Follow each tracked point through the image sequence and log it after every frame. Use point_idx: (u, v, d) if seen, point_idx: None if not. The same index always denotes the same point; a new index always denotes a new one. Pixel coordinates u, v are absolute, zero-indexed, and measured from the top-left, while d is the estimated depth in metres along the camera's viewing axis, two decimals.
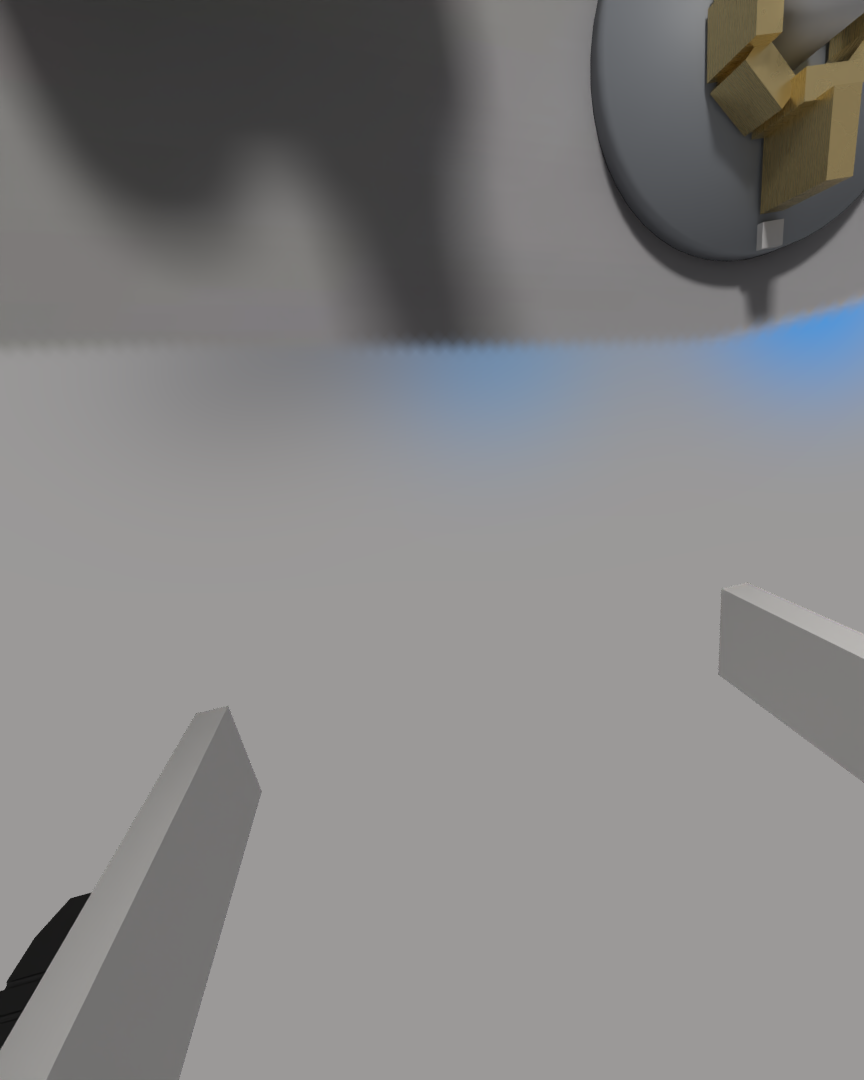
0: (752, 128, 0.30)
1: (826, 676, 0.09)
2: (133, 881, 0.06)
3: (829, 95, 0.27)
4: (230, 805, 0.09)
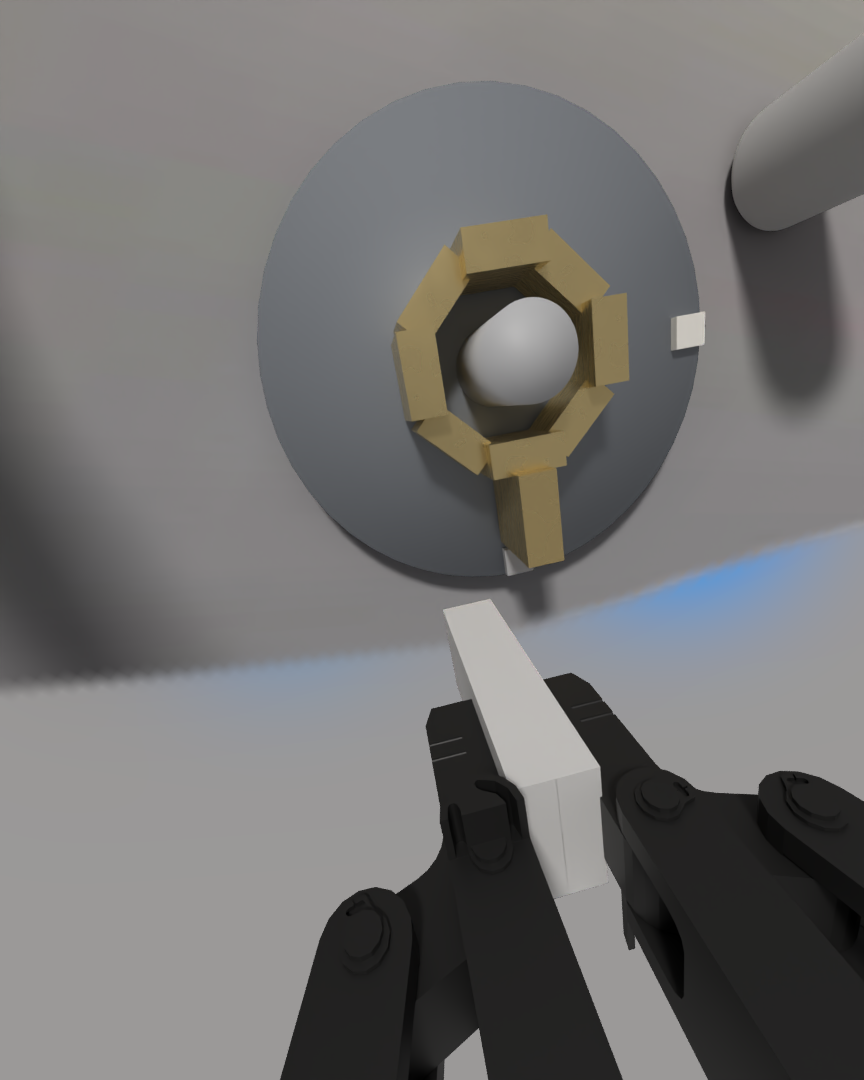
0: (466, 468, 0.25)
1: None
2: (500, 683, 0.09)
3: (517, 482, 0.21)
4: None
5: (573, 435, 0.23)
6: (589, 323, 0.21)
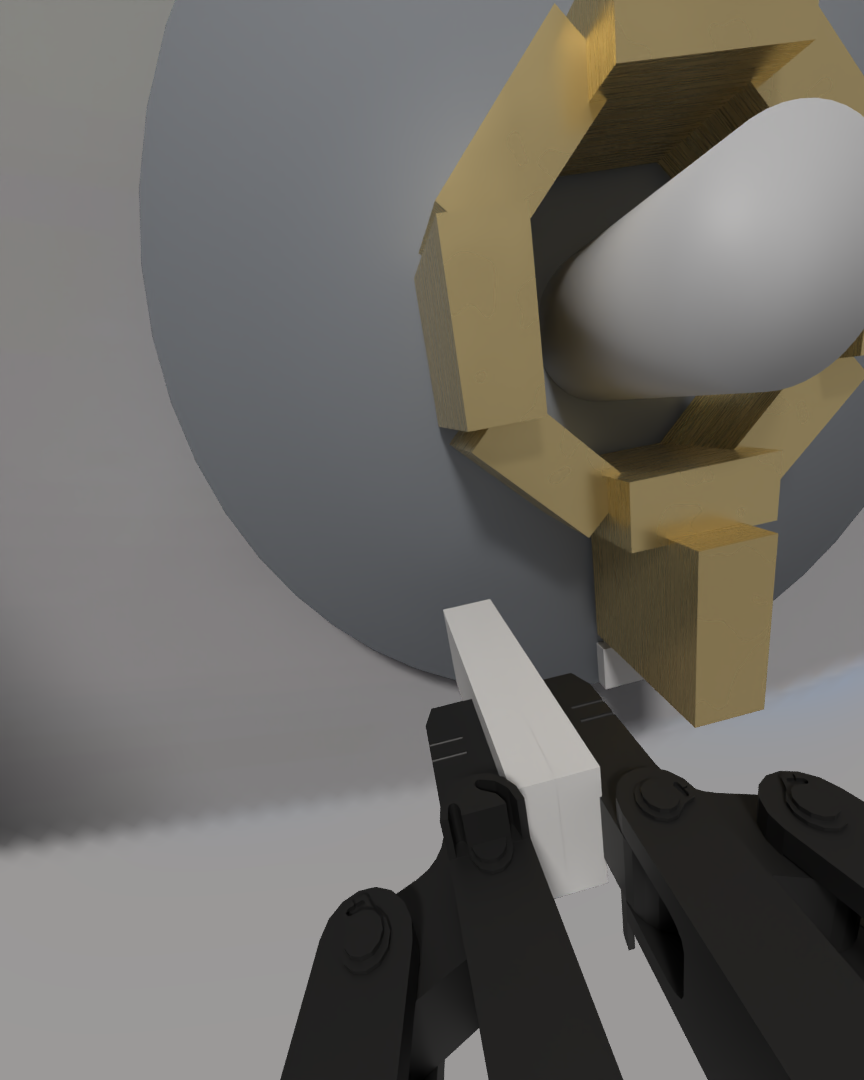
0: (551, 516, 0.13)
1: None
2: (500, 684, 0.09)
3: (690, 561, 0.10)
4: None
5: None
6: None
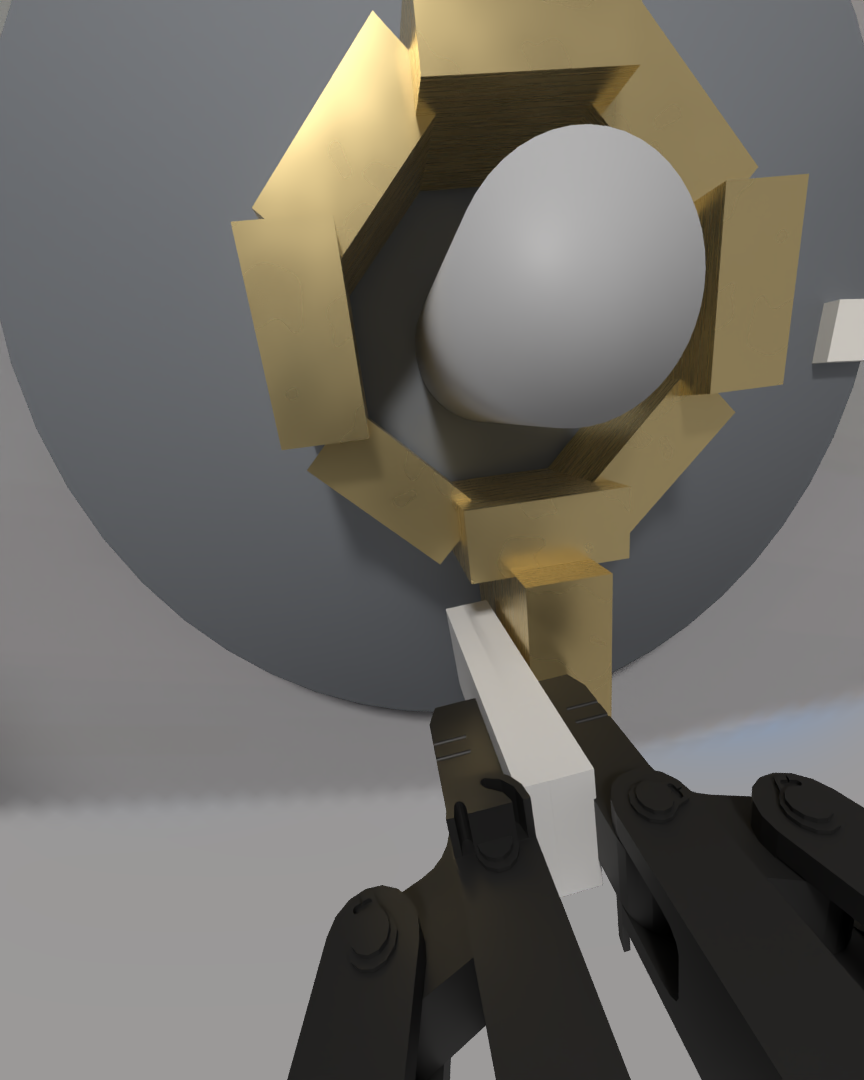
0: None
1: None
2: (504, 682, 0.09)
3: (522, 597, 0.10)
4: None
5: (643, 492, 0.11)
6: (709, 246, 0.09)
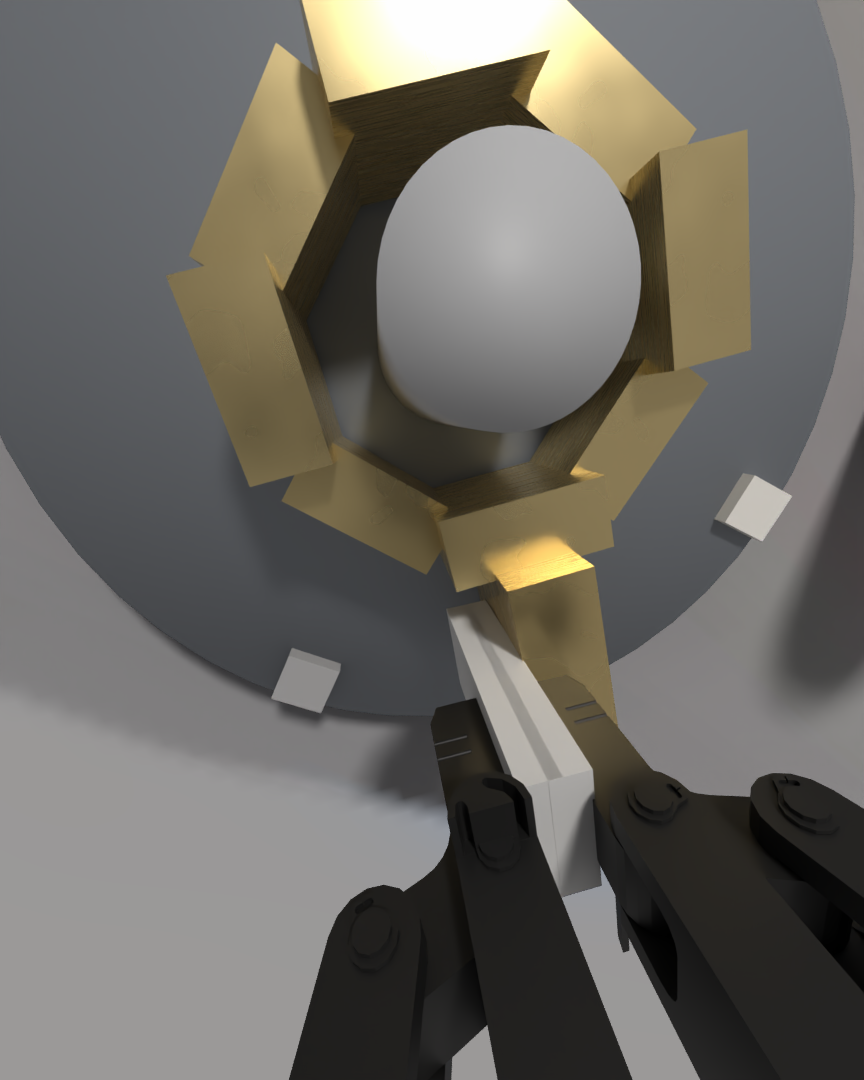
0: None
1: None
2: (505, 682, 0.09)
3: (507, 600, 0.10)
4: None
5: (622, 477, 0.11)
6: (653, 220, 0.09)
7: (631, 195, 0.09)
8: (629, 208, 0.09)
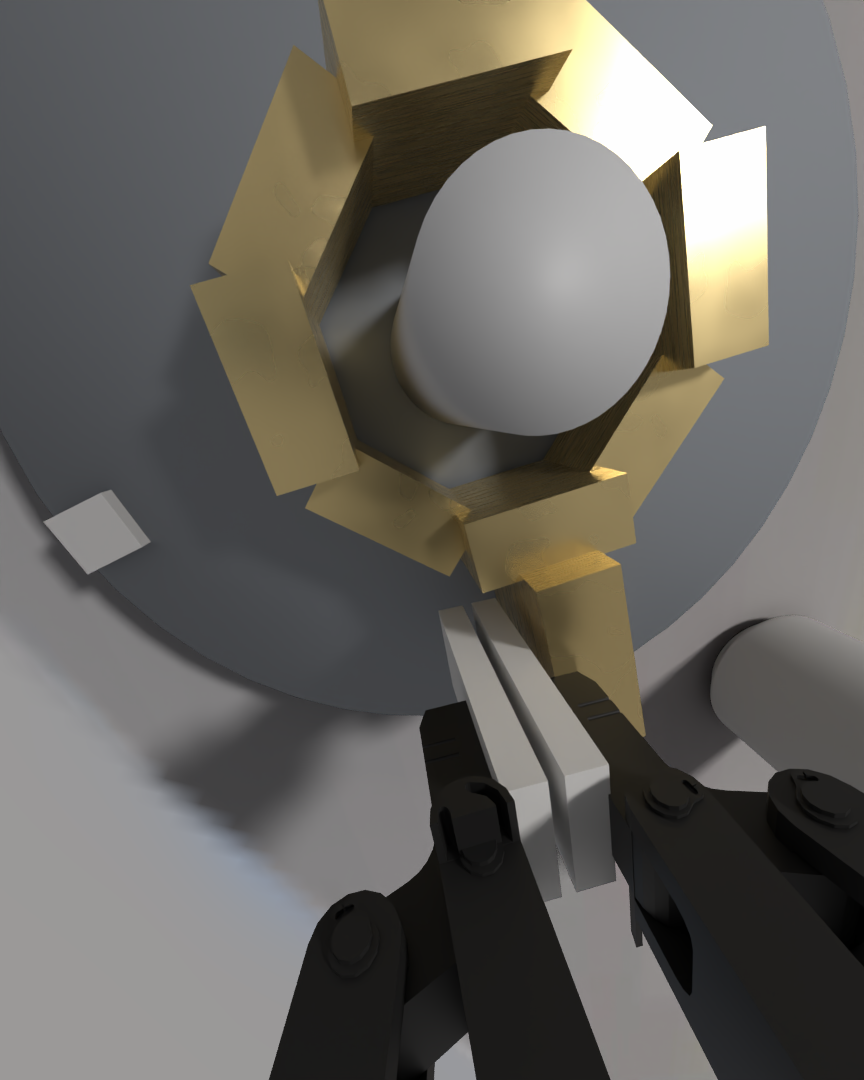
0: None
1: (501, 679, 0.10)
2: (493, 685, 0.09)
3: (534, 600, 0.10)
4: None
5: (641, 474, 0.11)
6: (672, 218, 0.09)
7: None
8: None
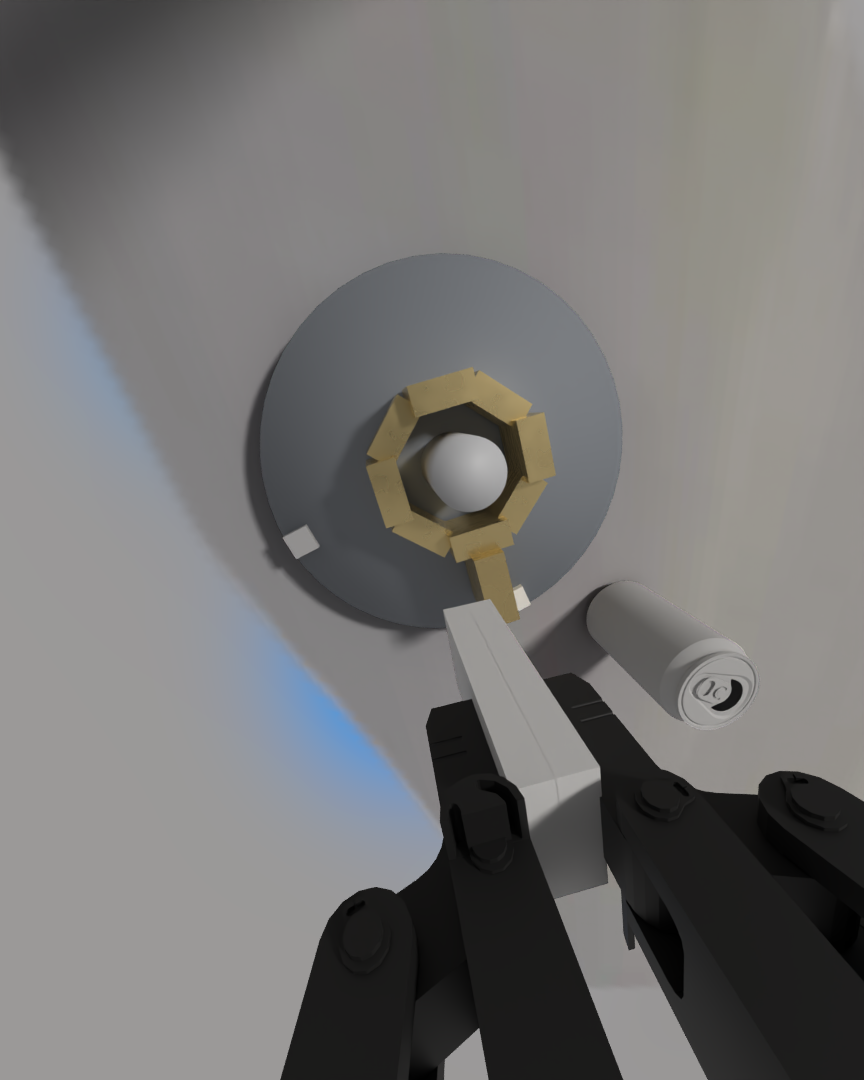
0: None
1: None
2: (500, 683, 0.09)
3: (474, 564, 0.27)
4: None
5: (518, 518, 0.28)
6: (517, 437, 0.26)
7: (512, 425, 0.27)
8: (512, 428, 0.27)
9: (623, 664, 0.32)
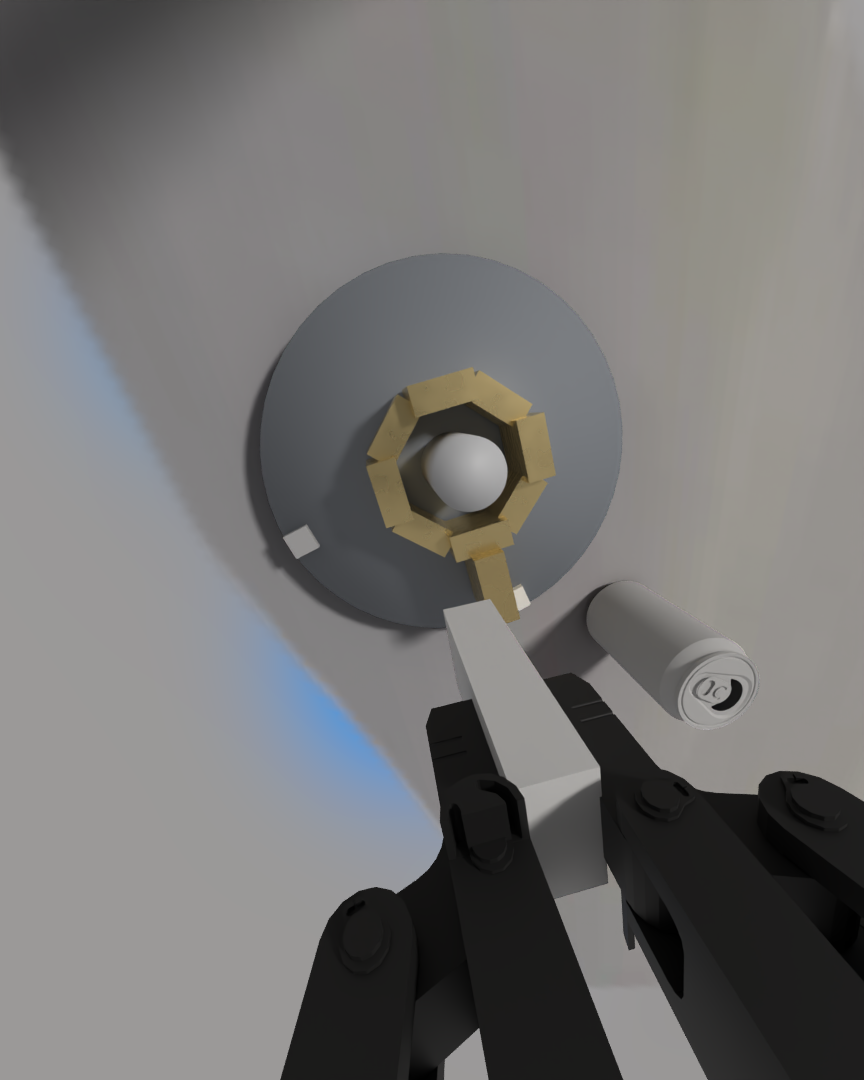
0: None
1: None
2: (500, 683, 0.09)
3: (474, 564, 0.27)
4: None
5: (518, 517, 0.28)
6: (517, 436, 0.26)
7: (512, 425, 0.27)
8: (512, 428, 0.27)
9: (623, 664, 0.32)
